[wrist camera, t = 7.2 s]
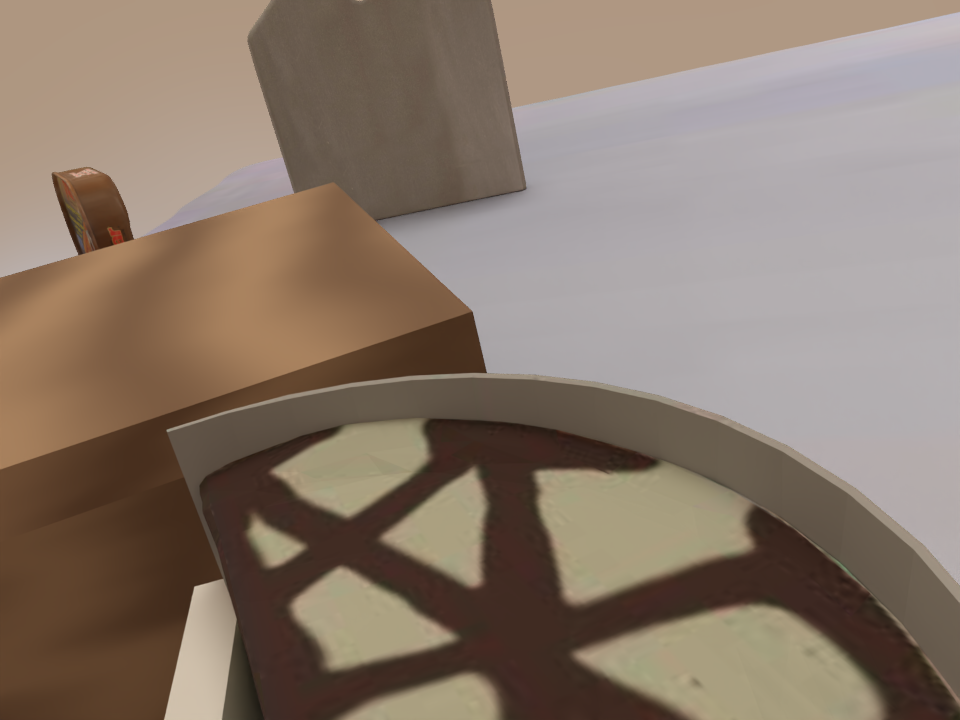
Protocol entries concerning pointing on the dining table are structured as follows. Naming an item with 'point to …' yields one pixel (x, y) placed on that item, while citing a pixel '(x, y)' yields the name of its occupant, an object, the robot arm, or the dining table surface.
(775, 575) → the food container
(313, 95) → the planter
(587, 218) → the dining table surface
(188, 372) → the walnut shelf
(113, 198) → the tin
